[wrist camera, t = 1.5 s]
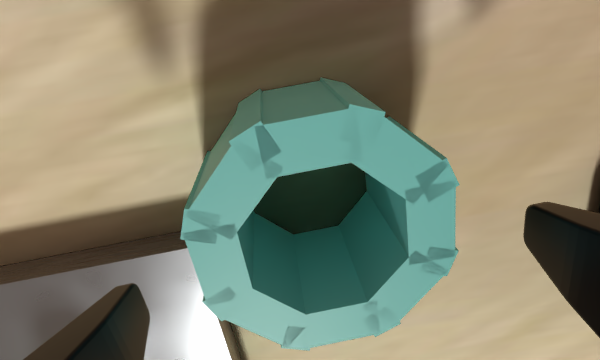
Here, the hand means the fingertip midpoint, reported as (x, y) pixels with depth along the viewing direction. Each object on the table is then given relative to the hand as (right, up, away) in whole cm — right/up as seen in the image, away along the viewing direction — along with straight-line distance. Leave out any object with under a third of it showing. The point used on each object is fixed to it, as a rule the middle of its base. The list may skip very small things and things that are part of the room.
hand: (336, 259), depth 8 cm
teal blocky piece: (-1, +2, +4) cm, 5 cm away
